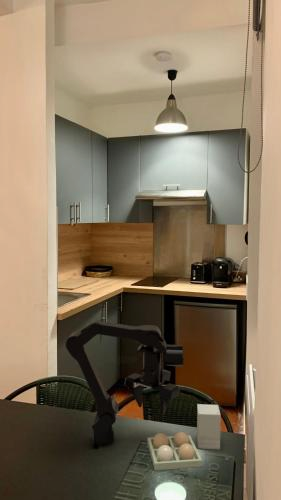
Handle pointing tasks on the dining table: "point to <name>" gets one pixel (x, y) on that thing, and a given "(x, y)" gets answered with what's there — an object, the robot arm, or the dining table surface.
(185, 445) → the brown egg front right
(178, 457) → the egg tray
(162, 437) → the brown egg back left
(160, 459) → the white egg
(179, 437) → the brown egg back right
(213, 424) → the supplement box
